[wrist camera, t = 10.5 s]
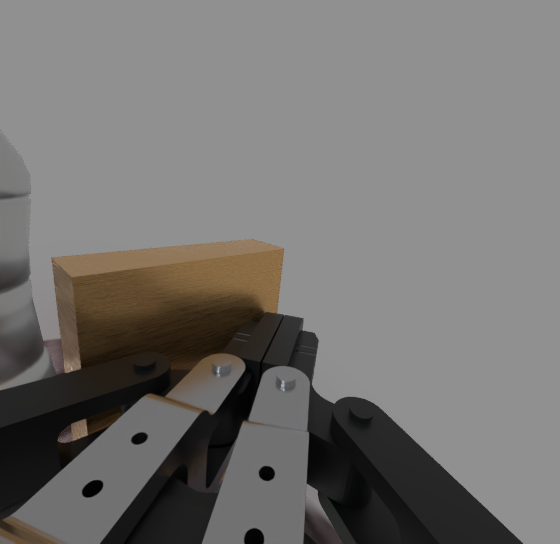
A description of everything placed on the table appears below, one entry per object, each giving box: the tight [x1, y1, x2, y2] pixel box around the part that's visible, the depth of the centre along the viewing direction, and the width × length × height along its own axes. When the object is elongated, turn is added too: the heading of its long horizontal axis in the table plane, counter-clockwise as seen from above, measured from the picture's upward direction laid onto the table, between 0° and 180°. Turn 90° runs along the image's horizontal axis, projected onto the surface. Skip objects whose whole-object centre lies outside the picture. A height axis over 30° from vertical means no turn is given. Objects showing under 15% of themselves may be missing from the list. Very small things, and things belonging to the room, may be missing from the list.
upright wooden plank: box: [52, 239, 284, 493], centre depth 9 cm, size 14×5×11 cm, turn 137°
